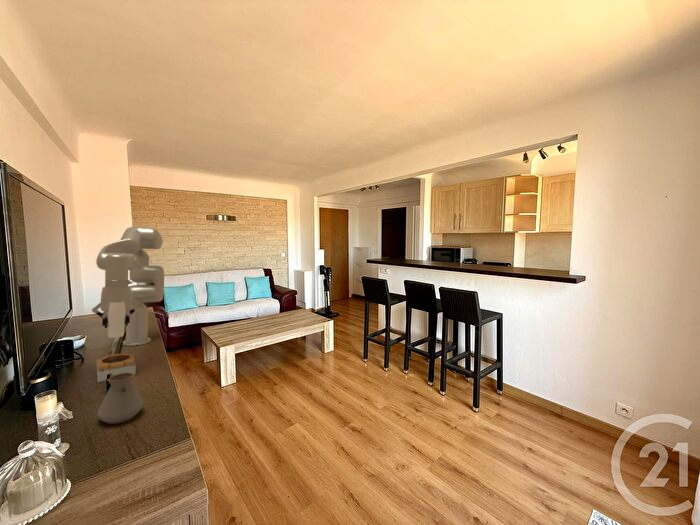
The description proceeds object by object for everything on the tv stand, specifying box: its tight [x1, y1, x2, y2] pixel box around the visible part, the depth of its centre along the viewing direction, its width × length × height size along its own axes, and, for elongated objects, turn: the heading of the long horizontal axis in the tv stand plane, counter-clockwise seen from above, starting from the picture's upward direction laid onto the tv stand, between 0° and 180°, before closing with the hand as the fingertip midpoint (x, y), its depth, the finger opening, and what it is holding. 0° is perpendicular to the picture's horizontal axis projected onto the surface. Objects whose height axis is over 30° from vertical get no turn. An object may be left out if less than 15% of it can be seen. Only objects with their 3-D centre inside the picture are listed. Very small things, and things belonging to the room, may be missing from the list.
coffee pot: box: [96, 373, 144, 425], centre depth 88 cm, size 21×12×15 cm, turn 40°
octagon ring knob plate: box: [96, 353, 137, 383], centre depth 123 cm, size 16×12×6 cm
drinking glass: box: [106, 302, 126, 339], centre depth 122 cm, size 7×7×15 cm
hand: (116, 325), depth 122 cm, fingers closed on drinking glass, 6 cm apart
